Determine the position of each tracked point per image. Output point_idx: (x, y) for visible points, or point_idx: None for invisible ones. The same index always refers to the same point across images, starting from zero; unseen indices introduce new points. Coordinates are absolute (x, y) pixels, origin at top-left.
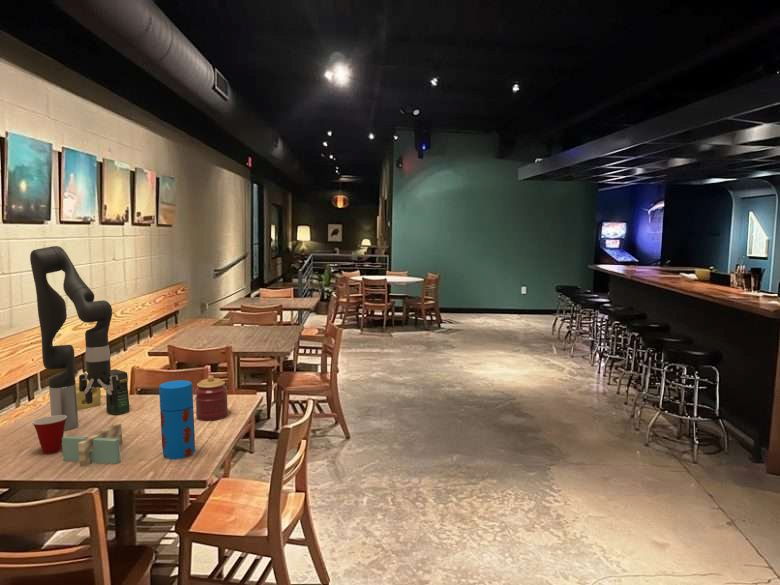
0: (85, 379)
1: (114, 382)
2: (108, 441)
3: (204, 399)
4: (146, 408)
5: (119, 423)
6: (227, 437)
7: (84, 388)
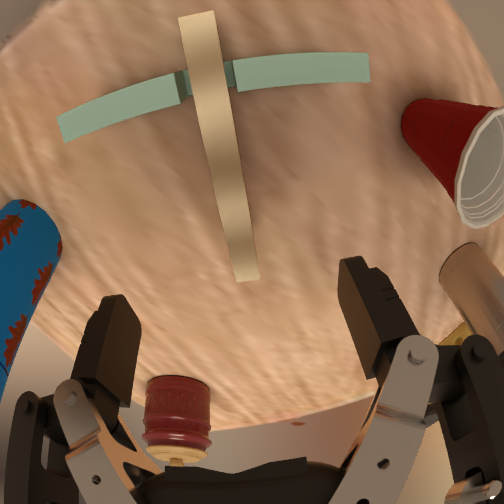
0: (463, 499)
1: (11, 494)
2: (87, 102)
3: (164, 419)
4: (344, 375)
5: (241, 278)
6: (46, 328)
7: (449, 387)
